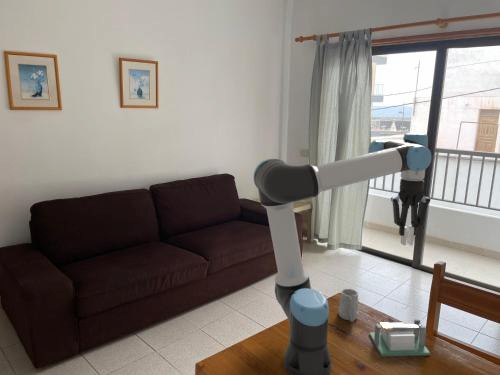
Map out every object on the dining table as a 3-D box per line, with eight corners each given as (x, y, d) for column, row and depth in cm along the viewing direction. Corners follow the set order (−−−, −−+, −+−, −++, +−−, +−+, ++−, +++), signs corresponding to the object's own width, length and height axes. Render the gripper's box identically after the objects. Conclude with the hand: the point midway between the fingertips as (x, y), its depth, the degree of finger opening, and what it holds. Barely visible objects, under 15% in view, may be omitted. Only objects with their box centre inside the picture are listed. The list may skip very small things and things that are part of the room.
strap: (383, 330, 129) (383, 326, 129) (379, 325, 132) (380, 321, 132) (424, 331, 130) (424, 327, 129) (419, 326, 133) (420, 322, 132)
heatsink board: (381, 356, 126) (383, 334, 124) (369, 334, 138) (370, 314, 136) (429, 355, 126) (431, 333, 125) (413, 333, 138) (415, 313, 136)
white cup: (355, 310, 154) (357, 282, 151) (363, 327, 142) (365, 297, 140) (336, 310, 154) (337, 282, 152) (342, 327, 143) (344, 297, 140)
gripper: (395, 181, 127) (390, 248, 132) (439, 180, 127) (432, 247, 133) (386, 176, 134) (382, 240, 139) (428, 176, 135) (422, 239, 140)
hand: (406, 243), depth 136 cm, fingers closed
